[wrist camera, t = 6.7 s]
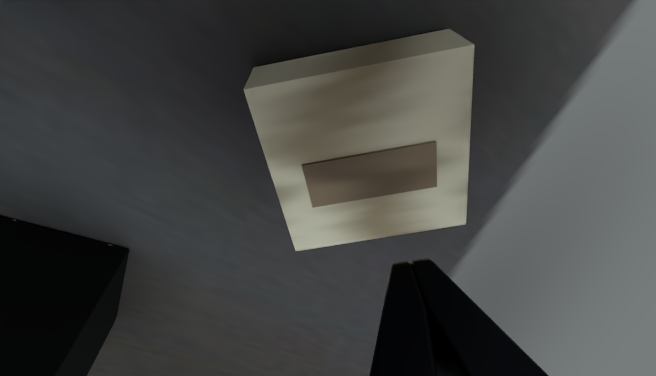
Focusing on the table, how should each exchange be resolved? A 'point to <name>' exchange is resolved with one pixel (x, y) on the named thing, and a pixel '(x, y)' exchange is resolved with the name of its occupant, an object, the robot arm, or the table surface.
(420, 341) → the robot arm
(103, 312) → the tissue box
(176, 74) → the table surface
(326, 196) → the birch domino
